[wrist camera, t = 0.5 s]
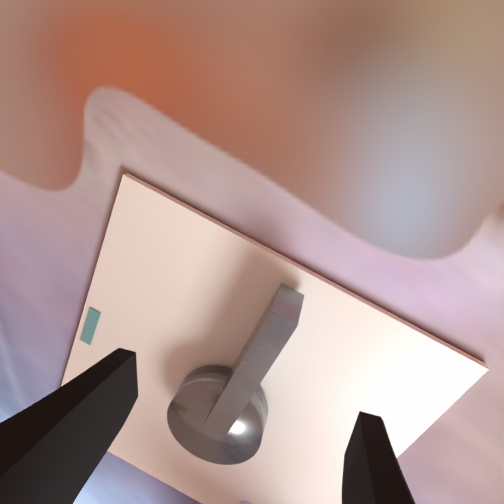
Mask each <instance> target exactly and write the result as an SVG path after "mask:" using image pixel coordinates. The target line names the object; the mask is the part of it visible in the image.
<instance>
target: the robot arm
mask: <svg viewBox="0 0 504 504" xmlns="http://www.w3.org/2000/svg"><path fill="white" fill-rule="evenodd" d="M137 398H138V380H137V361H136V352H134V351H130V350H126V349H123V348H118V349H116V350H114V351H113V352H112V353H110V354H109V355H107V356H106V357H104V358H103V359H101V360H100V361H98V362H97V363H96V364H94V365H93V366H91V367H90V368H88V369H87V370H85V371H84V372H82V373H81V374H80V375H78V376H77V377H75V378H74V379H72V380H71V381H69V382H68V383H66V384H64V385H63V386H61V387H60V388H58V389H57V390H55V391H54V392H52V393H51V394H49V395H47V396H46V397H44V398H43V399H41V400H39V401H38V402H36V403H34V404H33V405H31V406H29V407H28V408H26V409H24V410H23V411H21V412H19V413H17V414H16V415H14V416H12V417H10V418H9V419H7V420H5V421H3V422H1V423H0V504H73V502H74V500H75V499H76V497H77V496H78V494H79V492H80V491H81V489H82V488H83V486H84V485H85V483H86V482H87V480H88V479H89V477H90V476H91V474H92V473H93V471H94V470H95V468H96V467H97V465H98V464H99V462H100V461H101V459H102V458H103V456H104V455H105V453H106V452H107V450H108V449H109V447H110V446H111V444H112V442H113V441H114V439H115V438H116V436H117V435H118V433H119V432H120V430H121V429H122V427H123V425H124V423H125V422H126V420H127V418H128V416H129V414H130V412H131V410H132V408H133V406H134V404H135V402H136V400H137ZM239 504H252V503H250V502H248V501H241V502H240V503H239ZM342 504H415V502H414V500H413V497H412V495H411V493H410V490H409V488H408V486H407V483H406V481H405V479H404V476H403V474H402V471H401V469H400V466H399V464H398V461H397V458H396V456H395V453H394V450H393V448H392V445H391V442H390V439H389V436H388V433H387V430H386V427H385V424H384V421H383V419H382V418H381V417H380V416H377V415H373V414H369V413H365V412H362V411H359V414H358V417H357V420H356V423H355V425H354V428H353V431H352V434H351V437H350V440H349V443H348V445H347V448H346V451H345V454H344V465H343V477H342Z"/></svg>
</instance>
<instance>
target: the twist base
mask: <svg viewBox="0 0 504 504" xmlns="http://www.w3.org/2000/svg"><path fill="white" fill-rule="evenodd" d="M281 283H283V284H285V285H286V286H288V287H290V288H292V289H294V290H296V291H298V292H300V293H301V294H303V295H304V300H303V304H302V309H301V313H300V317H299V322H298V326H297V328H296V329H295V331H294V332H293V334H292V336H291V337H290V339H289V340H288V342H287V343H286V345H285V346H284V348H283V349H282V351H281V352H280V354H279V355H278V357H277V359H276V360H275V362H274V363H273V365H272V366H271V368H270V369H269V371H268V372H267V374H266V375H265V377H264V379H263V380H262V382H261V383H260V385H259V386H258V387H259V388H260V389H261V391H262V392H263V394H264V396H265V398H266V401H267V404H268V417H267V421H266V425H265V429H264V433H263V437H262V441H261V445H260V447H259V449H258V451H257V453H256V454H255V455H254V456H253V457H252V458H250V459H249V460H247V461H245V462H243V463H239V464H234V465H221V464H215V463H211V462H208V461H205V460H202V459H200V458H198V457H196V456H194V455H193V454H191V453H190V452H188V451H187V450H186V449H185V448H183V447H182V446H181V445H180V444H179V443H178V442H177V440H176V439H175V438H174V436H173V435H172V433H171V431H170V429H169V426H168V423H167V410H168V407H169V404H170V403H171V401H172V399H173V397H174V396H175V394H176V392H177V391H178V389H179V387H180V385H181V384H182V382H183V380H184V379H185V377H186V376H187V375H188V374H189V373H190V372H192V371H193V370H195V369H197V368H200V367H203V366H210V365H217V366H224V367H228V368H232V366H233V365H234V363H235V361H236V359H237V358H238V356H239V354H240V353H241V351H242V349H243V347H244V346H245V344H246V342H247V341H248V339H249V337H250V335H251V334H252V332H253V330H254V329H255V327H256V325H257V323H258V322H259V320H260V318H261V317H262V315H263V313H264V311H265V310H266V308H267V306H268V305H269V303H270V301H271V299H272V298H273V296H274V294H275V293H276V291H277V289H278V287H279V286H280V284H281ZM118 348H123V349H126V350H130V351H134V352H136V361H137V380H138V398H137V400H136V402H135V404H134V406H133V408H132V410H131V412H130V414H129V416H128V418H127V420H126V422H125V423H124V425H123V427H122V429H121V430H120V432H119V433H118V435H117V436H116V438H115V439H114V441H113V442H112V444H111V446H110V447H109V449H108V450H107V451H109V452H110V453H112V454H114V455H116V456H117V457H119V458H121V459H123V460H125V461H126V462H128V463H130V464H132V465H134V466H135V467H137V468H139V469H141V470H142V471H144V472H146V473H148V474H150V475H151V476H153V477H155V478H157V479H159V480H160V481H162V482H164V483H166V484H168V485H169V486H171V487H173V488H175V489H176V490H178V491H180V492H182V493H184V494H185V495H187V496H189V497H191V498H193V499H194V500H196V501H198V502H200V503H201V504H239V503H240V502H241V501H248V502H250V503H252V504H342V477H343V465H344V454H345V451H346V448H347V445H348V443H349V440H350V437H351V434H352V431H353V428H354V425H355V423H356V420H357V417H358V414H359V411H362V412H365V413H369V414H373V415H377V416H380V417H381V418H382V419H383V421H384V424H385V427H386V430H387V433H388V436H389V439H390V442H391V445H392V448H393V450H394V453H395V456H396V458H397V457H398V456H399V455H400V454H401V453H402V452H403V451H405V450H406V449H407V448H408V447H409V446H410V445H411V444H412V443H413V442H414V441H415V440H416V439H417V438H418V437H419V436H420V435H421V434H422V433H423V432H424V431H425V430H426V429H427V428H428V427H429V426H430V425H431V424H433V423H434V422H435V421H436V420H437V419H438V418H439V417H440V416H441V415H442V414H443V413H444V412H445V411H446V410H447V409H448V408H449V407H450V406H451V405H452V404H453V403H454V402H455V401H456V400H457V399H458V398H459V397H461V396H462V395H463V394H464V393H465V392H466V391H467V390H468V389H469V388H470V387H471V386H472V385H473V384H474V383H475V382H476V381H477V380H478V379H479V378H480V377H481V376H482V375H483V374H484V373H485V372H486V371H487V370H489V369H488V367H487V365H486V363H484V362H482V361H480V360H478V359H476V358H475V357H473V356H471V355H469V354H467V353H465V352H463V351H461V350H460V349H458V348H456V347H454V346H452V345H450V344H448V343H446V342H445V341H443V340H441V339H439V338H437V337H435V336H433V335H431V334H430V333H428V332H426V331H424V330H422V329H420V328H418V327H416V326H414V325H413V324H411V323H409V322H407V321H405V320H403V319H401V318H399V317H398V316H396V315H394V314H392V313H390V312H388V311H386V310H384V309H383V308H381V307H379V306H377V305H375V304H373V303H371V302H369V301H368V300H366V299H364V298H362V297H360V296H358V295H356V294H354V293H352V292H351V291H349V290H347V289H345V288H343V287H341V286H339V285H337V284H336V283H334V282H332V281H330V280H328V279H326V278H324V277H322V276H321V275H319V274H317V273H315V272H313V271H311V270H309V269H307V268H306V267H304V266H302V265H300V264H298V263H296V262H294V261H292V260H290V259H289V258H287V257H285V256H283V255H281V254H279V253H277V252H275V251H274V250H272V249H270V248H268V247H266V246H264V245H262V244H260V243H259V242H257V241H255V240H253V239H251V238H249V237H247V236H245V235H244V234H242V233H240V232H238V231H236V230H234V229H232V228H230V227H228V226H227V225H225V224H223V223H221V222H219V221H217V220H215V219H213V218H212V217H210V216H208V215H206V214H204V213H202V212H200V211H198V210H197V209H195V208H193V207H191V206H189V205H187V204H185V203H183V202H182V201H180V200H178V199H176V198H174V197H172V196H170V195H168V194H166V193H165V192H163V191H161V190H159V189H157V188H155V187H153V186H151V185H150V184H148V183H146V182H144V181H142V180H140V179H138V178H136V177H135V176H133V175H131V174H129V173H126V174H123V176H122V180H121V183H120V187H119V190H118V193H117V197H116V200H115V204H114V207H113V210H112V214H111V217H110V221H109V224H108V228H107V231H106V234H105V238H104V241H103V245H102V248H101V251H100V255H99V258H98V262H97V265H96V269H95V272H94V275H93V279H92V282H91V286H90V289H89V292H88V296H87V299H86V303H85V306H84V309H83V313H82V316H81V320H80V323H79V327H78V330H77V333H76V337H75V340H74V344H73V347H72V350H71V354H70V357H69V361H68V364H67V367H66V371H65V374H64V378H63V381H62V385H61V386H63V385H64V384H66V383H68V382H69V381H71V380H72V379H74V378H75V377H77V376H78V375H80V374H81V373H82V372H84V371H85V370H87V369H88V368H90V367H91V366H93V365H94V364H96V363H97V362H98V361H100V360H101V359H103V358H104V357H106V356H107V355H109V354H110V353H112V352H113V351H114V350H116V349H118Z"/></svg>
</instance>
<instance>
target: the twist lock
mask: <svg viewBox="0 0 504 504" xmlns="http://www.w3.org/2000/svg"><path fill="white" fill-rule="evenodd" d="M303 300H304V295H303V294H301V293H300V292H298V291H296V290H294V289H292V288H290V287H288V286H286V285H285V284H283V283H281V284H280V286H279V287H278V289H277V291H276V293H275V294H274V296H273V298H272V299H271V301H270V303H269V305H268V306H267V308H266V310H265V311H264V313H263V315H262V317H261V318H260V320H259V322H258V323H257V325H256V327H255V329H254V330H253V332H252V334H251V335H250V337H249V339H248V341H247V342H246V344H245V346H244V347H243V349H242V351H241V353H240V354H239V356H238V358H237V359H236V361H235V363H234V365H233V366H232V368H228V367H224V366H217V365H210V366H203V367H200V368H197V369H195V370H193V371H192V372H190V373H189V374H188V375H187V376H186V377H185V379H184V380H183V382H182V384H181V385H180V387H179V389H178V391H177V392H176V394H175V396H174V397H173V399H172V401H171V403H170V404H169V407H168V410H167V423H168V426H169V429H170V431H171V433H172V435H173V436H174V438H175V439H176V440H177V442H178V443H179V444H180V445H181V446H182V447H183V448H185V449H186V450H187V451H188V452H190V453H191V454H193V455H194V456H196V457H198V458H200V459H202V460H205V461H208V462H211V463H215V464H221V465H234V464H239V463H243V462H245V461H247V460H249V459H250V458H252V457H253V456H254V455H255V454H256V453H257V451H258V449H259V447H260V445H261V441H262V437H263V433H264V429H265V425H266V421H267V417H268V404H267V401H266V398H265V396H264V394H263V392H262V391H261V389H260V388H259V387H258V386H259V385H260V383H261V382H262V380H263V379H264V377H265V375H266V374H267V372H268V371H269V369H270V368H271V366H272V365H273V363H274V362H275V360H276V359H277V357H278V355H279V354H280V352H281V351H282V349H283V348H284V346H285V345H286V343H287V342H288V340H289V339H290V337H291V336H292V334H293V332H294V331H295V329H296V328H297V326H298V322H299V317H300V313H301V309H302V304H303Z"/></svg>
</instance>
